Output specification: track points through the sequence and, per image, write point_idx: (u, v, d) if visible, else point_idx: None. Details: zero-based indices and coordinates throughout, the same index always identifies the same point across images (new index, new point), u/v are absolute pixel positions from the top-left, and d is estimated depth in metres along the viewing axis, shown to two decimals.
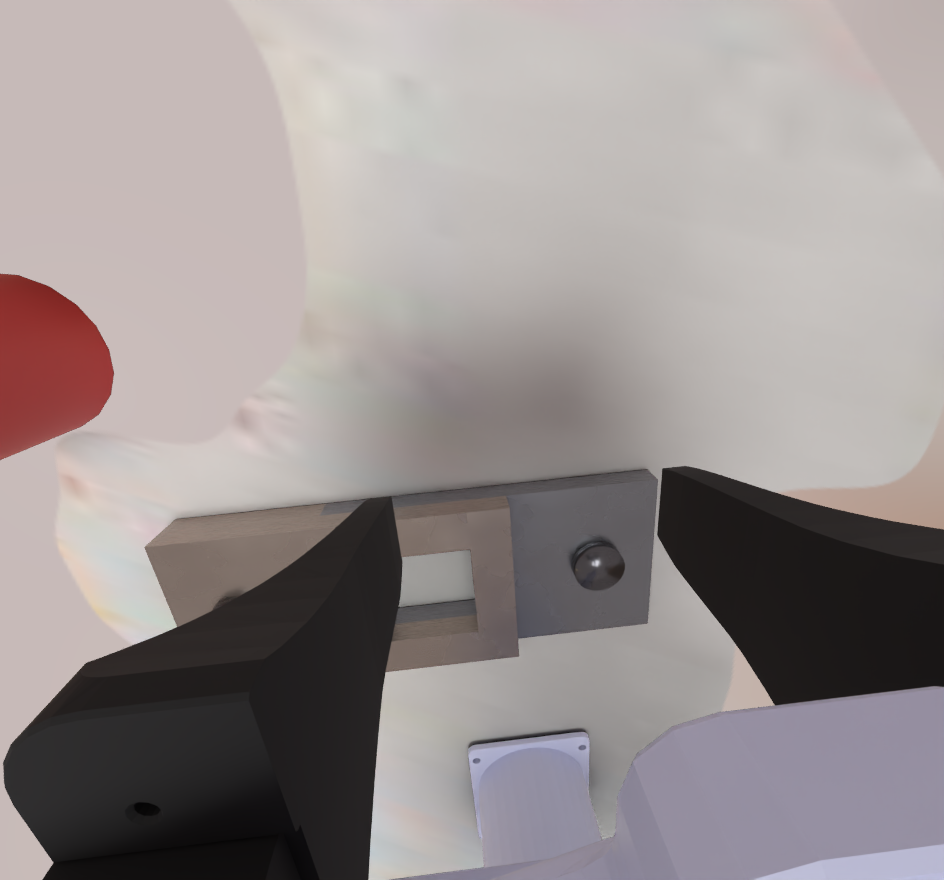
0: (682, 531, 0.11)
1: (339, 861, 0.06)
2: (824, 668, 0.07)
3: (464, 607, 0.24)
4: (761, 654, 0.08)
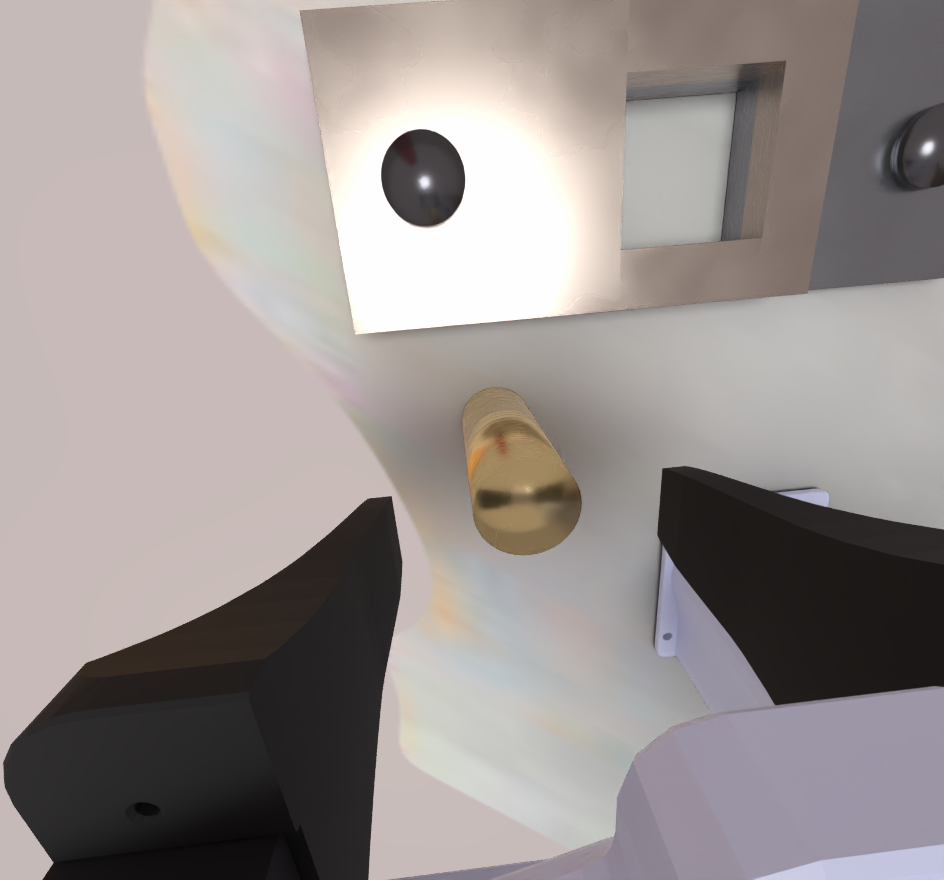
0: (682, 531, 0.11)
1: (339, 861, 0.06)
2: (824, 668, 0.07)
3: None
4: (761, 654, 0.08)
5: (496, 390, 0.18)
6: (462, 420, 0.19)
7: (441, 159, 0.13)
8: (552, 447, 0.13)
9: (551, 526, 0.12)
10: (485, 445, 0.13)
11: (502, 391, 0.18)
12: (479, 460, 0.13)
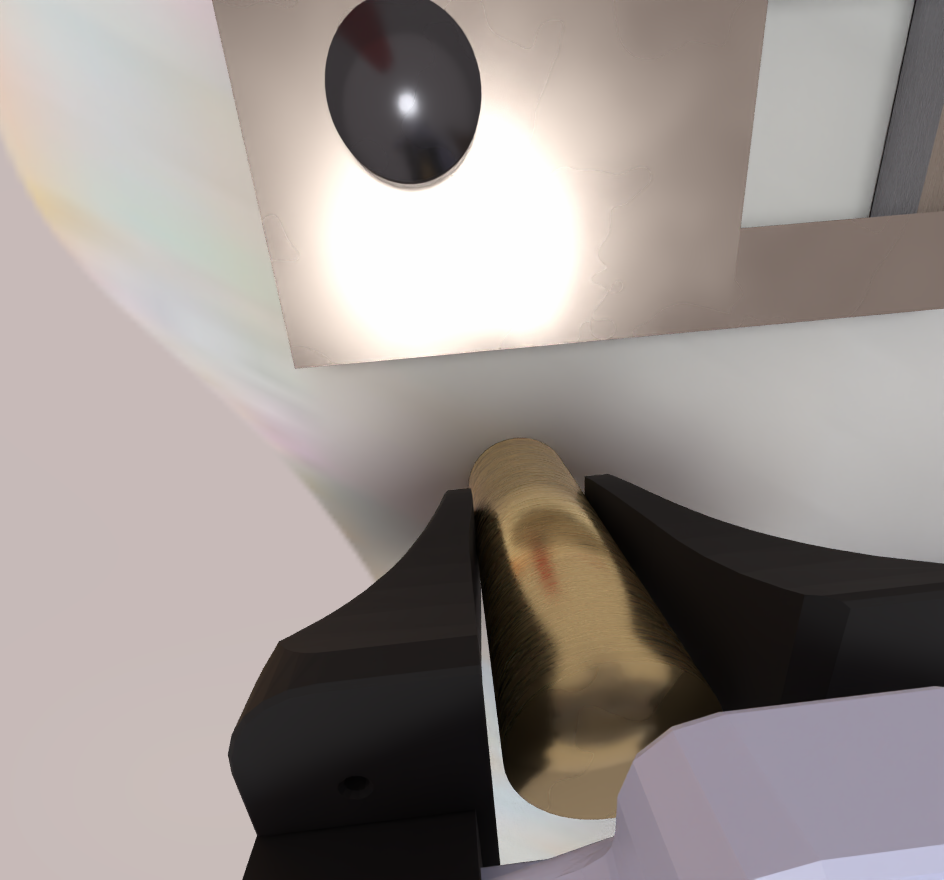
0: None
1: None
2: None
3: None
4: None
5: (521, 444, 0.12)
6: (470, 486, 0.13)
7: (437, 54, 0.07)
8: (642, 587, 0.07)
9: None
10: (518, 583, 0.07)
11: (530, 446, 0.12)
12: (510, 622, 0.07)
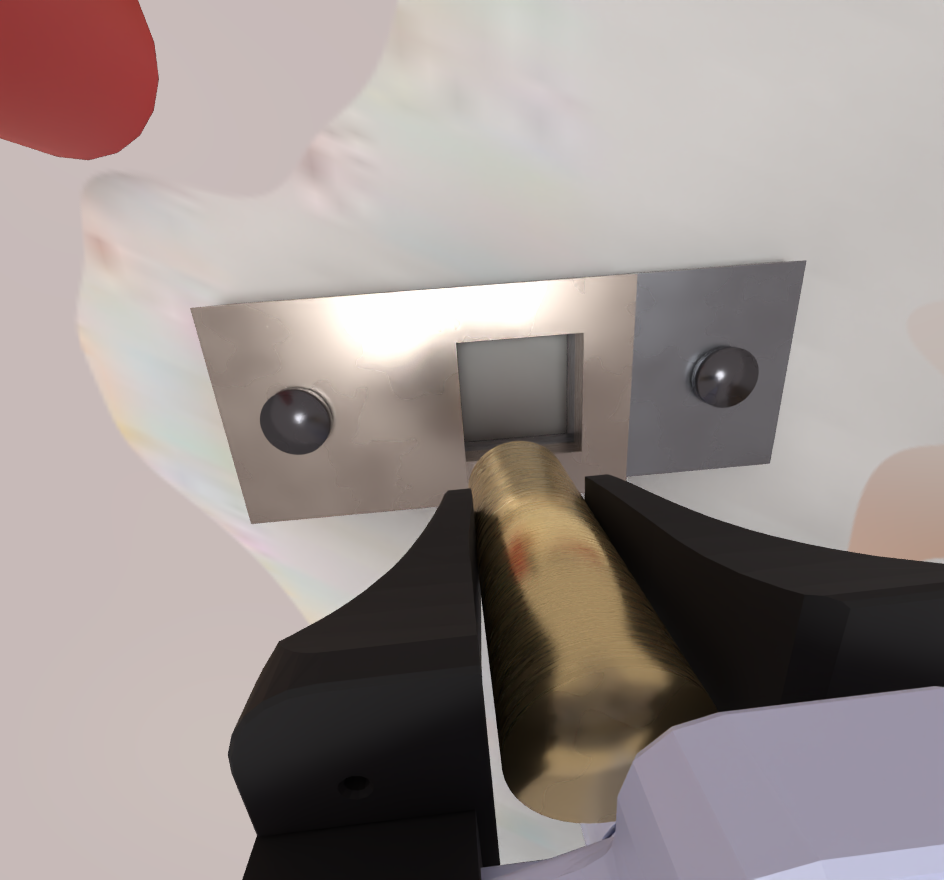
0: None
1: None
2: None
3: (556, 438, 0.20)
4: None
5: (524, 447, 0.12)
6: (470, 486, 0.13)
7: (308, 410, 0.17)
8: (644, 595, 0.07)
9: None
10: (522, 585, 0.07)
11: (533, 449, 0.12)
12: (513, 622, 0.07)
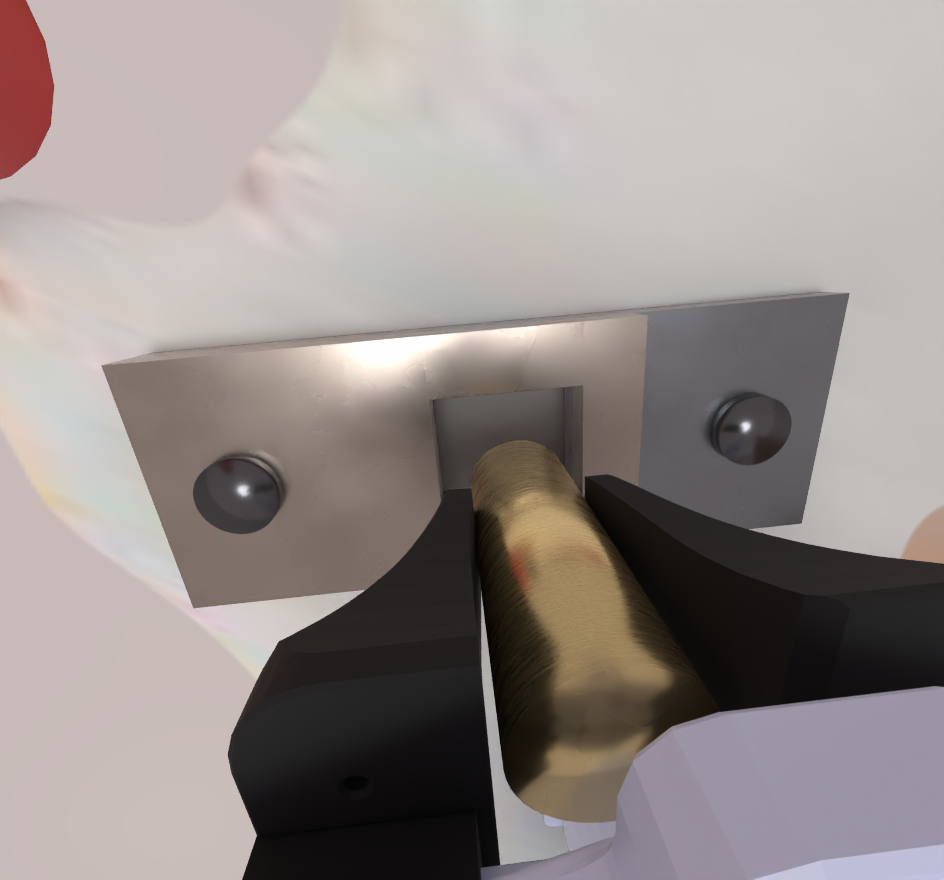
0: None
1: None
2: None
3: None
4: None
5: (524, 446, 0.12)
6: (470, 485, 0.13)
7: (250, 483, 0.14)
8: (645, 594, 0.07)
9: None
10: (523, 584, 0.07)
11: (534, 449, 0.12)
12: (515, 621, 0.07)
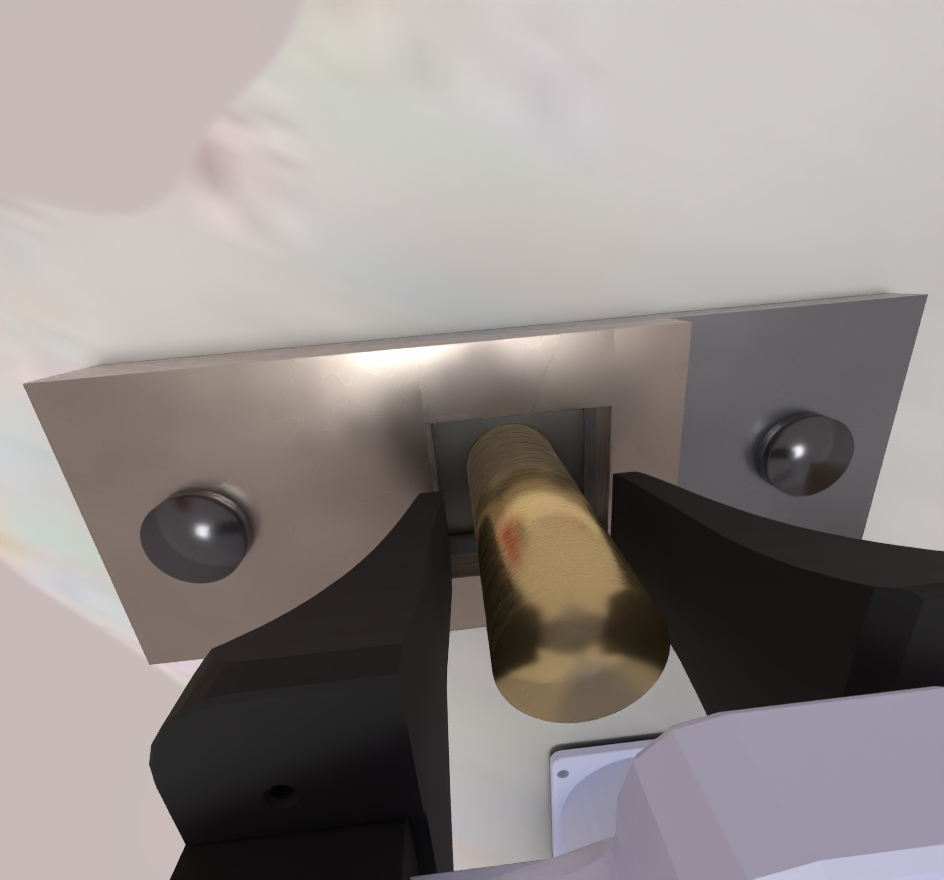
0: (629, 537, 0.11)
1: (441, 848, 0.06)
2: (743, 678, 0.07)
3: None
4: (694, 662, 0.08)
5: (516, 429, 0.14)
6: (468, 464, 0.14)
7: (210, 525, 0.11)
8: (613, 542, 0.09)
9: (616, 684, 0.07)
10: (511, 532, 0.09)
11: (525, 431, 0.14)
12: (503, 560, 0.08)
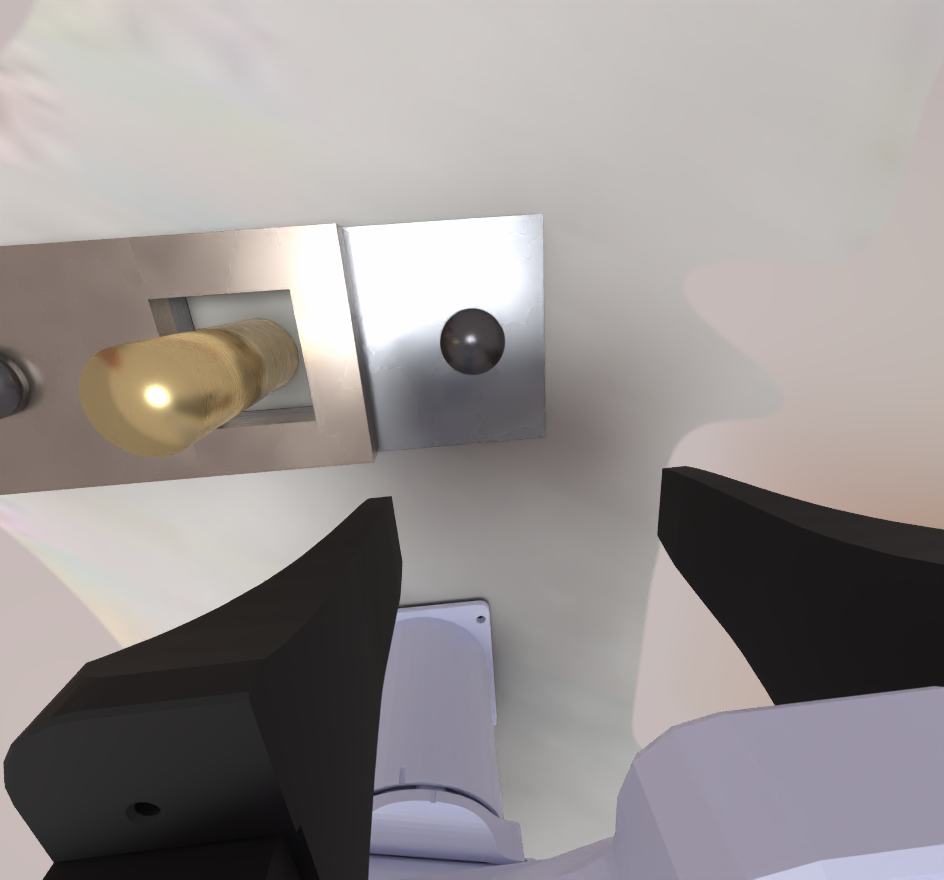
0: (682, 531, 0.11)
1: (339, 861, 0.06)
2: (824, 668, 0.07)
3: (313, 409, 0.19)
4: (761, 654, 0.08)
5: (253, 319, 0.18)
6: None
7: None
8: (216, 354, 0.13)
9: (174, 426, 0.12)
10: None
11: (257, 320, 0.18)
12: None
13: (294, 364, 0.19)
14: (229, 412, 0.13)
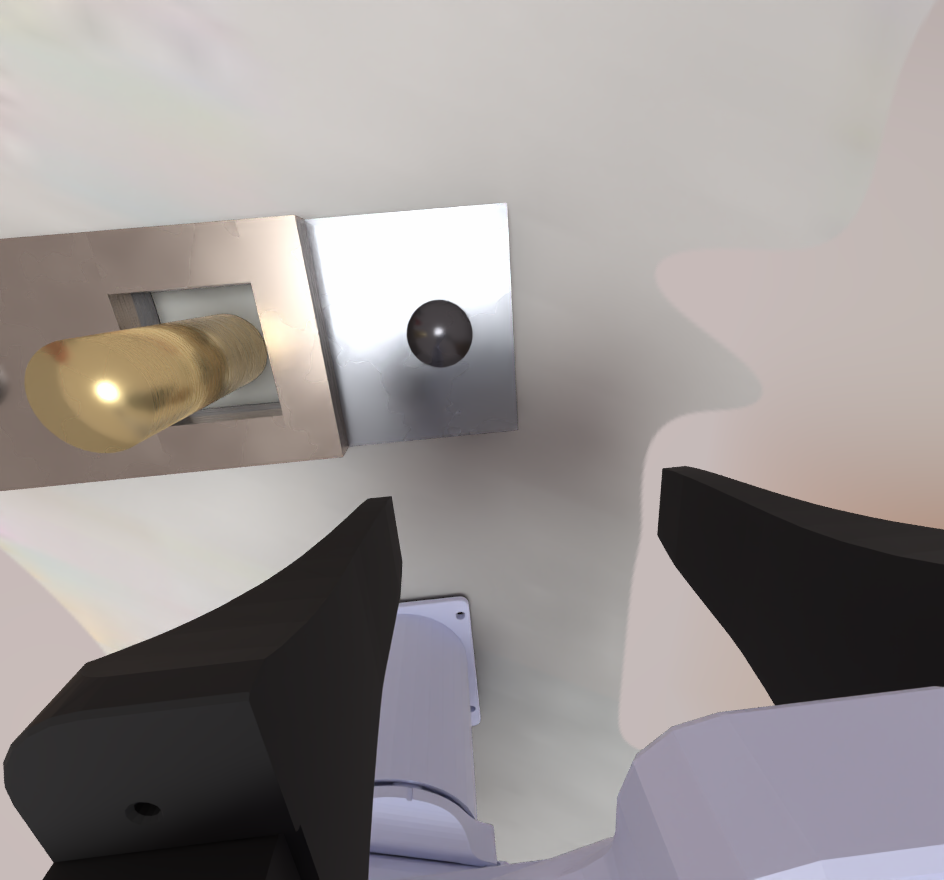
0: (682, 531, 0.11)
1: (339, 861, 0.06)
2: (824, 668, 0.07)
3: None
4: (761, 654, 0.08)
5: (219, 315, 0.18)
6: None
7: None
8: (170, 348, 0.13)
9: (124, 421, 0.11)
10: None
11: (223, 315, 0.17)
12: None
13: (262, 359, 0.18)
14: (185, 407, 0.13)
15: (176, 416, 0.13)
